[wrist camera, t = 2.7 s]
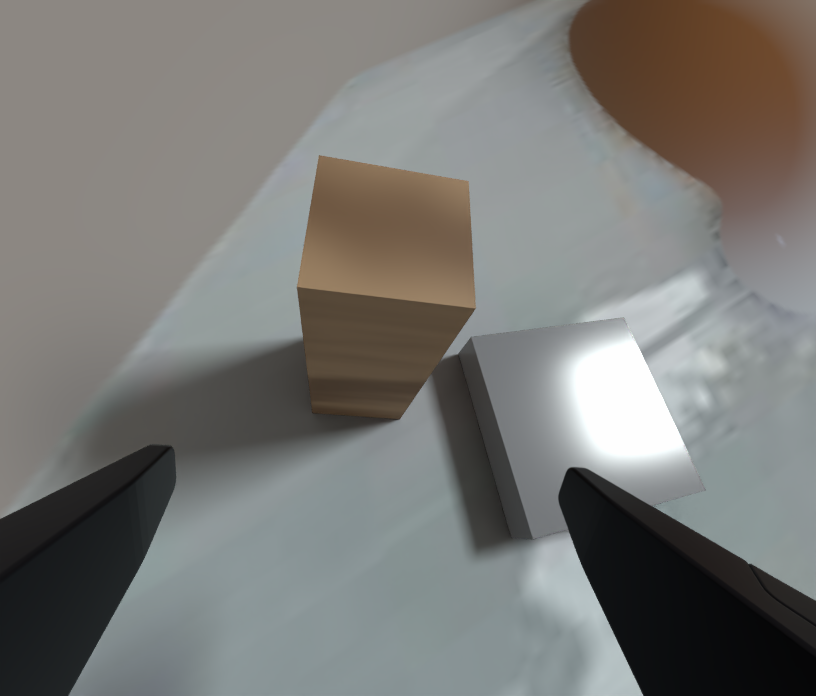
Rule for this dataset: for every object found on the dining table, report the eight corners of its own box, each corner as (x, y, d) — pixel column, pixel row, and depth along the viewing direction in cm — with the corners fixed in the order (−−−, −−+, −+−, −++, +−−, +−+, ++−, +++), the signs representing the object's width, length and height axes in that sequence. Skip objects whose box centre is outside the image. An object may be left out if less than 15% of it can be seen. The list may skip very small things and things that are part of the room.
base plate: (511, 537, 21) (533, 539, 19) (458, 353, 25) (471, 336, 23) (670, 493, 24) (706, 490, 22) (600, 333, 28) (624, 317, 26)
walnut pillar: (399, 419, 23) (475, 308, 11) (312, 413, 22) (296, 286, 10) (402, 341, 25) (468, 181, 13) (322, 333, 24) (319, 155, 13)
